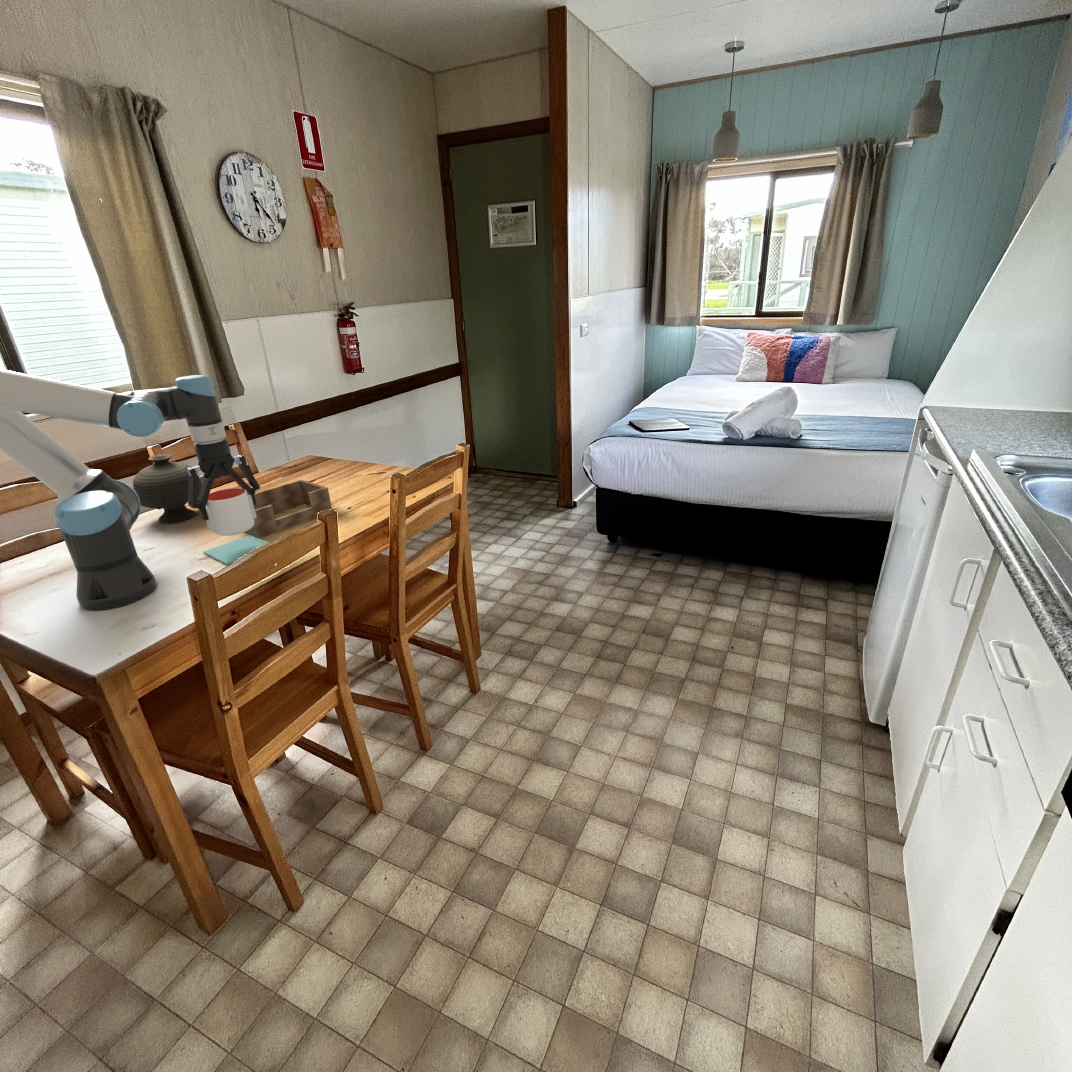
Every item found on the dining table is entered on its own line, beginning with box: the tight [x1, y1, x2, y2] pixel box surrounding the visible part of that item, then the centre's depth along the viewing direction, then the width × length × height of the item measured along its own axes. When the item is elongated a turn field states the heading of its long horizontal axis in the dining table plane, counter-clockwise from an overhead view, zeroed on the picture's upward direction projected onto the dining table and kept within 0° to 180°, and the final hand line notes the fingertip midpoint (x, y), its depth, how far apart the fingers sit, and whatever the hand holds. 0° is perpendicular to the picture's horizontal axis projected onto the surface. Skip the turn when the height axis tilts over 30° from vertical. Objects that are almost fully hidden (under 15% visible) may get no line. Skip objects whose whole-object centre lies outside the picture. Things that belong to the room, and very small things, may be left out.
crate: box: [244, 479, 333, 539], centre depth 174 cm, size 24×15×8 cm, turn 142°
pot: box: [132, 453, 203, 524], centre depth 178 cm, size 18×18×20 cm
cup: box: [206, 487, 254, 537], centre depth 152 cm, size 10×10×10 cm
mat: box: [202, 535, 269, 566], centre depth 156 cm, size 13×13×1 cm
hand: (233, 523), depth 153 cm, fingers closed on cup, 10 cm apart
